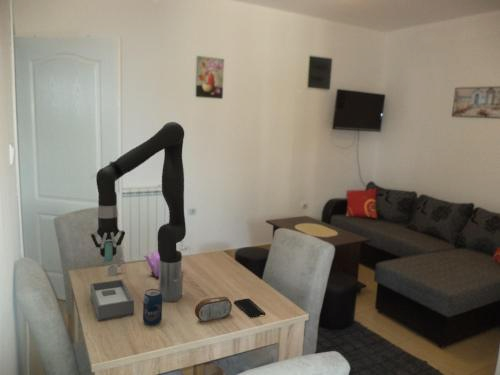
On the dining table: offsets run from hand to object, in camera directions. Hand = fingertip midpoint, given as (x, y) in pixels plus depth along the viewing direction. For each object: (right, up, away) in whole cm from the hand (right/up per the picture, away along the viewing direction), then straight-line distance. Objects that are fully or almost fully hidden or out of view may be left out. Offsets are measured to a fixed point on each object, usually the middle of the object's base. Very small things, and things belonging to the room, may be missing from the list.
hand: (108, 255), depth 157 cm
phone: (+59, -23, +1) cm, 63 cm away
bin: (+3, -20, -4) cm, 20 cm away
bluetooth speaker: (+45, -24, -9) cm, 51 cm away
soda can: (+22, -23, -14) cm, 35 cm away
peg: (0, -2, 0) cm, 2 cm away
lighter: (-7, -15, +28) cm, 32 cm away
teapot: (+15, -15, +31) cm, 38 cm away
